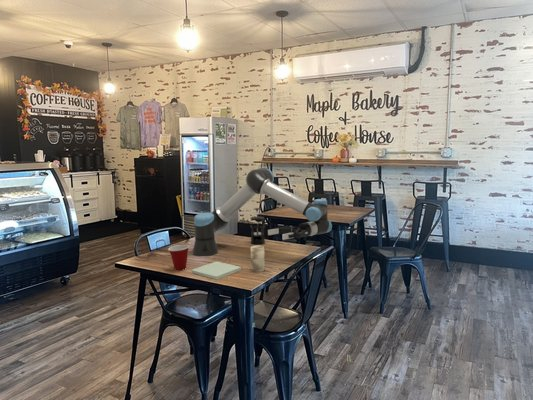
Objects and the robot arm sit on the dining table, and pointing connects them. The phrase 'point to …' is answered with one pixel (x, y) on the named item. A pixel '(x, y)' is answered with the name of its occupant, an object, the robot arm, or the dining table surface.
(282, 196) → the robot arm
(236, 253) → the dining table surface
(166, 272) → the dining table surface
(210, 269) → the board
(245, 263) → the dining table surface
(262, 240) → the french press
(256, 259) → the birch roller
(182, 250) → the plastic cup
